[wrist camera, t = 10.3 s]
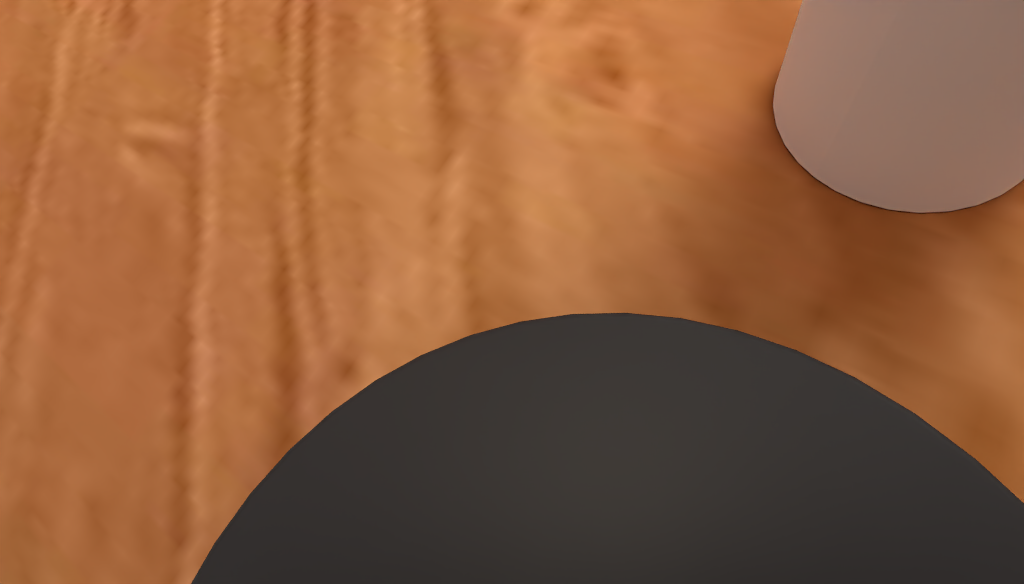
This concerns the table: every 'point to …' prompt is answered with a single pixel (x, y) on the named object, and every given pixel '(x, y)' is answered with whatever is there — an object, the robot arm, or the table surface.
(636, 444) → the cap
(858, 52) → the cylindrical container
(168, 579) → the table surface
